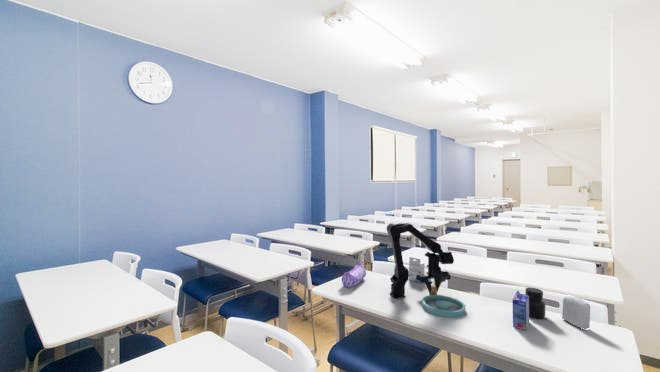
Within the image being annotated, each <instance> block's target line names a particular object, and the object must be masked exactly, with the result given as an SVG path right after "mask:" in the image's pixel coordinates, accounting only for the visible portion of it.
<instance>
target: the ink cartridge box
mask: <svg viewBox="0 0 660 372" xmlns="http://www.w3.org/2000/svg"><path fill="white" fill-rule="evenodd" d="M529 324H530V317H529V296H528V295H525V294H523V293H520V291H519V290H518V289H517V291H516V292H515V294H514V296H513V298H512V327H513V328H518V329H521V330H523V331H527V330H528V327H529Z"/></svg>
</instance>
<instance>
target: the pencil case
mask: <svg viewBox="0 0 660 372" xmlns="http://www.w3.org/2000/svg"><path fill="white" fill-rule="evenodd" d="M366 275H367V271H366V269H365V266H362V264H361V263H358V264H356V265H355V266H354V268H352V269H351V270H350V271H347V272H344V274H342V276H341V283H342V286H343V287H345V288H348V289H352V288H353V287H355V286H356V285H357V284H358V283H360V282H361V281H362V280H364V279H365V277H366Z"/></svg>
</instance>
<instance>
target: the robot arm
mask: <svg viewBox="0 0 660 372" xmlns="http://www.w3.org/2000/svg"><path fill="white" fill-rule="evenodd" d="M386 232H387V234H388V237H389V239H390V242H391V246H392V253H393V258H394V265H395V266H394V271H393V272H394V274H393V275H392V276H391V277H390V282H391V285H390V292H389V295H390V296H391V297H393V298H395V299H402V298H406V297H407V296H406V295H405V294H406V293H405V292H406V290H405V289H406V287H405V286H406V284H407V282H408V281H409V268H407V267H406V266H405V265H404V259H403V255H402V247H401V242H400V240H401V239H400V238H401V235H402V234H405V233H407V232H409V233H410V234H411V235H412V236H414V237H415V238H417V240H419V241H420V242H421V243H422V244H423V245H424V246H425V249H427V250H428V251H427V252H426V253H424V256H425V257H426V258H427V259H428V262H427V264H426V268H427V271H426V275H425V273H424V274H417V276H416V279H417V280H418V281H420V282H422V283H424V285H425V286H426V290H427V291H428V293H431V285H433V283H434V285H435V286H437V293H438V291H439V289H440V286H441V284H442V283H443V282H446V281H447V280H448V281H450V280H451V279H452V278H451V274H450V273H449V271H442V267H441V266H440V265H453V264H454V256H453V254H452V251H443V249H442V246H441V244H440V243H438V242H436V241H435V240H432V239H431V238H429V237H428V236H426V235H425V234H423V233H422V232H421V231H420V230H419V229H417V228H416V227H414V225H413V224H412V223H409V222H405V223H396V224H395V223H389V224H388V225H387V226H386ZM429 251H430V252H429ZM432 280H434V282H433V281H432Z"/></svg>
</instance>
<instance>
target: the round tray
mask: <svg viewBox="0 0 660 372" xmlns="http://www.w3.org/2000/svg"><path fill="white" fill-rule="evenodd" d="M421 307H422V309H424V310H425V311H426V312H428V313H430V314H433V315H435V316H439V317H443V318H457V317H462V316H464V315H466V314H465V313H466V304H465V302H463V301H461V300H460V299H457V298H455V297H451V296H447V295H441V294H439V295H438V294H437V295H430V294H429V295H427V296H424V297H422V299H421Z"/></svg>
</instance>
